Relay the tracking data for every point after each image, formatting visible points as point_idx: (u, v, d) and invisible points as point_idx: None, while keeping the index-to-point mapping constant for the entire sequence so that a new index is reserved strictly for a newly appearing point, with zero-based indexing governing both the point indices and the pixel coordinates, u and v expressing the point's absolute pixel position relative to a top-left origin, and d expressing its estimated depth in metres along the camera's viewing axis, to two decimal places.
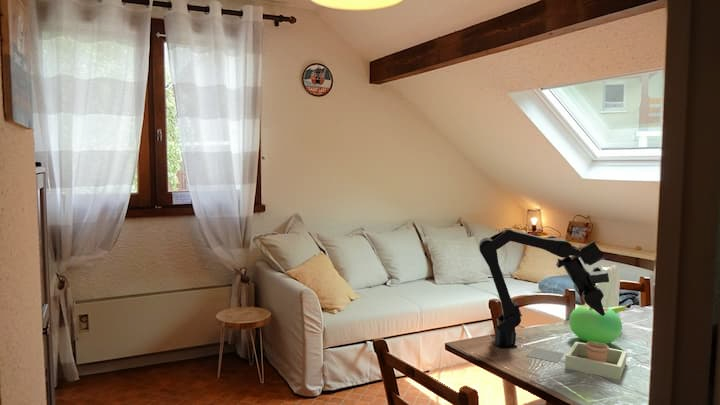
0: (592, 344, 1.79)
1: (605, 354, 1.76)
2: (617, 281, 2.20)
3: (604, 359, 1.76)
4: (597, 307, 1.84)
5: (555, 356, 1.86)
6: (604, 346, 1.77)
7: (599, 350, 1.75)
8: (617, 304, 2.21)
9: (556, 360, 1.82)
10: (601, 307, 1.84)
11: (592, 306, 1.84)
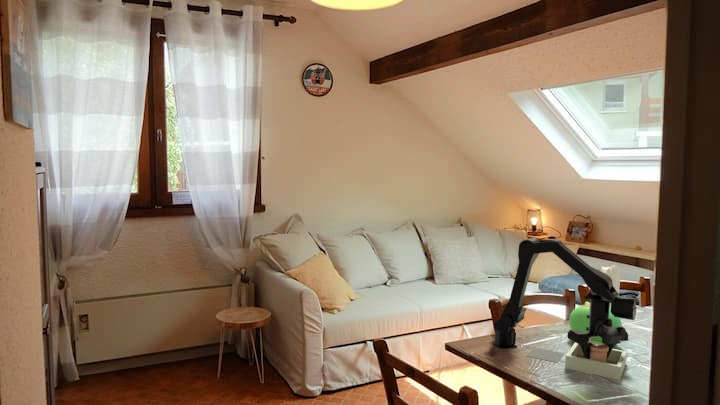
0: None
1: (605, 354, 1.76)
2: (617, 281, 2.20)
3: (604, 359, 1.76)
4: (583, 349, 1.78)
5: (555, 356, 1.86)
6: (604, 346, 1.77)
7: (599, 350, 1.75)
8: None
9: (556, 360, 1.82)
10: (586, 353, 1.77)
11: (580, 345, 1.79)
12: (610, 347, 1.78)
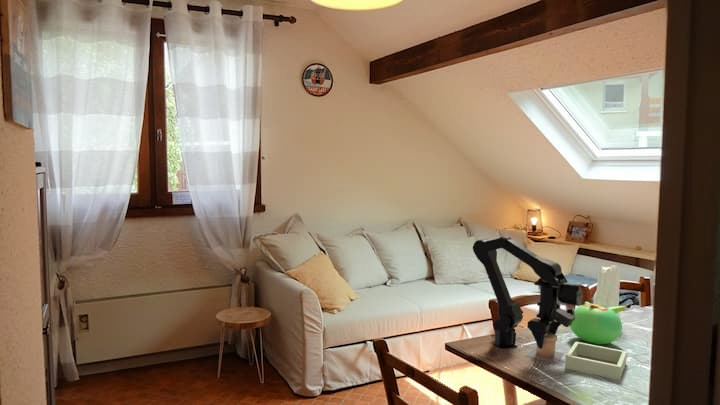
0: None
1: (555, 342, 1.86)
2: (617, 281, 2.20)
3: None
4: (538, 337, 1.82)
5: (555, 356, 1.86)
6: (553, 335, 1.86)
7: (553, 339, 1.83)
8: (617, 304, 2.21)
9: (556, 360, 1.82)
10: (541, 340, 1.82)
11: (534, 334, 1.83)
12: (556, 328, 1.89)
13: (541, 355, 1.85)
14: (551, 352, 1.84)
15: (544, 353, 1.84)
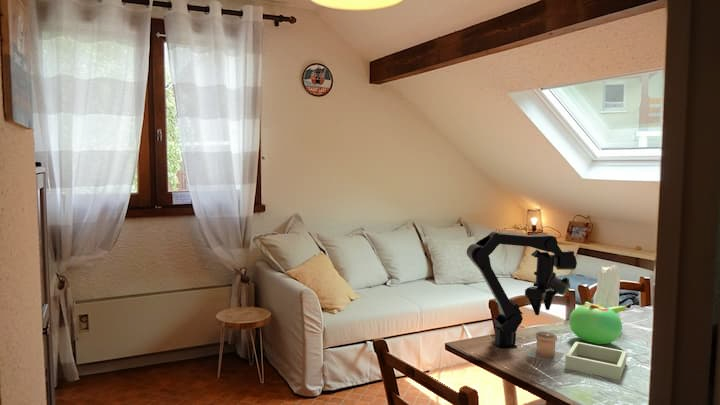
0: (542, 334, 1.86)
1: (555, 341, 1.86)
2: (617, 281, 2.20)
3: None
4: (534, 304, 1.92)
5: (555, 356, 1.86)
6: (553, 335, 1.86)
7: (553, 339, 1.83)
8: (617, 304, 2.21)
9: (556, 360, 1.82)
10: (538, 307, 1.92)
11: (531, 301, 1.93)
12: (552, 297, 1.99)
13: (541, 355, 1.85)
14: (551, 351, 1.84)
15: (544, 353, 1.84)
